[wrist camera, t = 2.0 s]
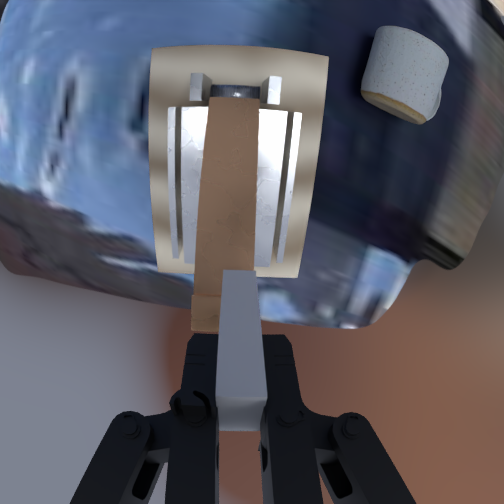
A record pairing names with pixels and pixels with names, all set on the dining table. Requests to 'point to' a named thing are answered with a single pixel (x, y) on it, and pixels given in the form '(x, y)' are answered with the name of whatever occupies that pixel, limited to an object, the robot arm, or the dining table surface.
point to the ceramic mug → (404, 74)
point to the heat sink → (268, 174)
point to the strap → (225, 197)
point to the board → (291, 99)
